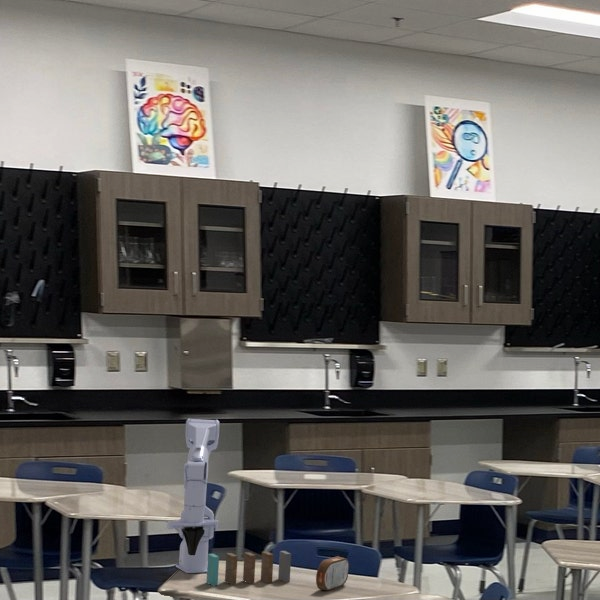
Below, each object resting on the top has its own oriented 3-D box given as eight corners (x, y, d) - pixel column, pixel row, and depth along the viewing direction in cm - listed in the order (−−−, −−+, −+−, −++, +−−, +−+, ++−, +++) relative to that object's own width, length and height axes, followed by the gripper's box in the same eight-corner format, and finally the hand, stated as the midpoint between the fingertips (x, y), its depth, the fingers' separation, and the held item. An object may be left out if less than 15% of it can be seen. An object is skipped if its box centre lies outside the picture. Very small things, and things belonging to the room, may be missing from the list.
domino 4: (284, 582, 330) (286, 554, 331) (278, 578, 334) (279, 551, 335) (289, 582, 331) (291, 553, 331) (283, 578, 335) (284, 550, 335)
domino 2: (248, 584, 326) (250, 555, 326) (242, 580, 330) (244, 552, 330) (254, 583, 326) (255, 555, 327) (248, 580, 330) (249, 552, 331)
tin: (340, 583, 333) (341, 553, 334) (350, 584, 332) (351, 555, 332) (314, 591, 320) (315, 561, 321) (324, 593, 319) (325, 562, 319)
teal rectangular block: (211, 582, 326) (213, 553, 326) (217, 585, 322) (219, 556, 322) (206, 582, 325) (208, 553, 325) (212, 586, 321) (213, 557, 321)
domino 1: (230, 585, 323) (232, 556, 324) (224, 581, 327) (226, 553, 328) (236, 584, 324) (237, 556, 324) (230, 581, 328) (231, 552, 328)
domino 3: (266, 583, 328) (268, 554, 328) (260, 579, 332) (262, 551, 332) (272, 582, 329) (273, 554, 329) (265, 579, 333) (267, 551, 333)
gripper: (174, 507, 314) (171, 558, 314) (224, 506, 321) (221, 556, 320) (165, 503, 321) (163, 553, 320) (214, 503, 327) (212, 551, 327)
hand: (191, 554), depth 321 cm, fingers closed
